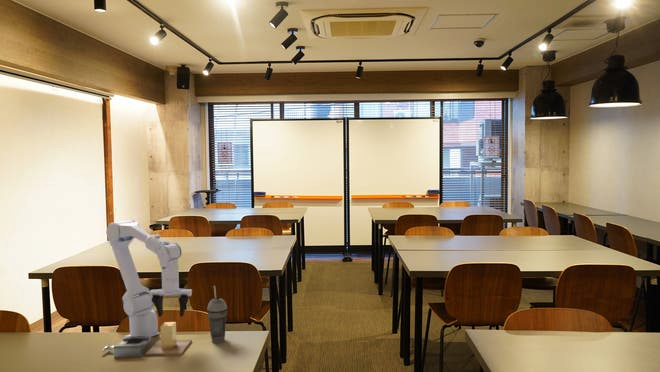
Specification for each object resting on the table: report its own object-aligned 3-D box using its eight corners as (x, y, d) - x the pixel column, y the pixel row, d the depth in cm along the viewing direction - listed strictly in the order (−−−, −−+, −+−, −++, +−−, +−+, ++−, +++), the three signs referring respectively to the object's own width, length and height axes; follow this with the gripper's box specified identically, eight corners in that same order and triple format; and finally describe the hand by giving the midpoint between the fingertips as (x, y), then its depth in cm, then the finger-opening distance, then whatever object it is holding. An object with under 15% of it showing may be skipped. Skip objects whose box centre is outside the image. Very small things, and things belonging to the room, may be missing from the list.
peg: (165, 344, 166) (164, 322, 166) (176, 344, 166) (175, 322, 166) (161, 349, 162) (160, 326, 162) (172, 348, 162) (172, 325, 162)
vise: (110, 347, 167) (110, 336, 167) (151, 346, 167) (150, 335, 167) (98, 357, 158) (97, 346, 158) (141, 356, 158) (140, 345, 158)
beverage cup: (216, 346, 166) (215, 290, 165) (203, 341, 171) (201, 287, 170) (232, 339, 172) (231, 285, 171) (219, 335, 176) (217, 282, 175)
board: (158, 342, 171) (158, 340, 171) (191, 341, 171) (191, 339, 171) (145, 356, 159) (145, 353, 159) (181, 355, 159) (181, 353, 159)
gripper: (145, 281, 164) (146, 319, 164) (186, 280, 163) (188, 319, 164) (153, 276, 171) (154, 313, 171) (193, 275, 170) (194, 312, 171)
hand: (171, 315), depth 168 cm, fingers open, 7 cm apart
